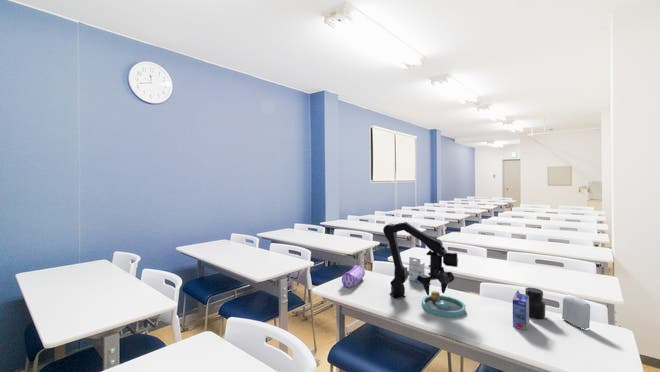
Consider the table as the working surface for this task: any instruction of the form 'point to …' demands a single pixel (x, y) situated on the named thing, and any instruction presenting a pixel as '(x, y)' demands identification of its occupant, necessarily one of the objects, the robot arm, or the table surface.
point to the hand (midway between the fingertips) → (435, 294)
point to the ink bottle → (536, 303)
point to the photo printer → (576, 311)
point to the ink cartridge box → (520, 311)
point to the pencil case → (353, 276)
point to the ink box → (415, 269)
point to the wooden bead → (434, 296)
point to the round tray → (444, 306)
